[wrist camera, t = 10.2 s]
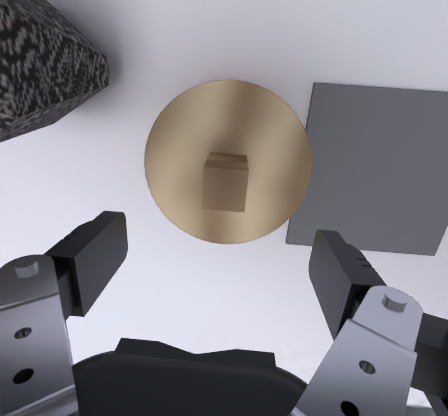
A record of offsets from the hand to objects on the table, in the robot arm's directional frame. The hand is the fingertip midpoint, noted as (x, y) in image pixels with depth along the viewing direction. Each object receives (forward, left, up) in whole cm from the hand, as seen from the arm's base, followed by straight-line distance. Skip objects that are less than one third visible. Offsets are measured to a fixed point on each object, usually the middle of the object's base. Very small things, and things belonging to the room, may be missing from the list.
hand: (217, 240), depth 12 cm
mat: (-15, +1, -17) cm, 22 cm away
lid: (0, 0, -12) cm, 12 cm away
